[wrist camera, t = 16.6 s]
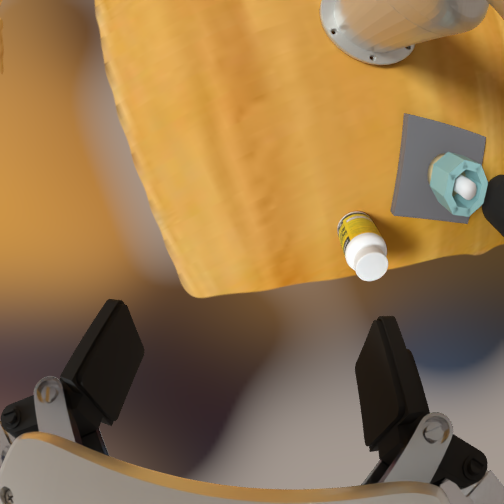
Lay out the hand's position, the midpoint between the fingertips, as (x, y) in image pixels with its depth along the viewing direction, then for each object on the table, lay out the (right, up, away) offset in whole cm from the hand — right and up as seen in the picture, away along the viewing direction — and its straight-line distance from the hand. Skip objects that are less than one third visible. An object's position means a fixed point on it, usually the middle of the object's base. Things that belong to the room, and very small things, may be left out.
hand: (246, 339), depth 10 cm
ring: (+26, +13, +18) cm, 35 cm away
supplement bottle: (+15, +7, +28) cm, 32 cm away
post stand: (+27, +15, +21) cm, 37 cm away
